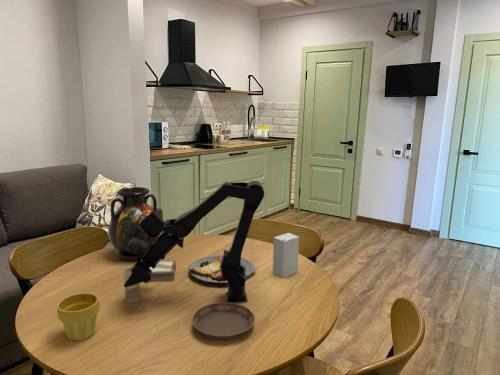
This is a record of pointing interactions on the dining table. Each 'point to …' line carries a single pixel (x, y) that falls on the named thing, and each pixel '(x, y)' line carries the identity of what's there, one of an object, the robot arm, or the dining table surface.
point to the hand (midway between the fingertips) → (127, 280)
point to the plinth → (163, 271)
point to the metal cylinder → (131, 289)
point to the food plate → (215, 269)
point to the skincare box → (285, 255)
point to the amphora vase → (130, 220)
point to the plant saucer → (223, 321)
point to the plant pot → (79, 314)
